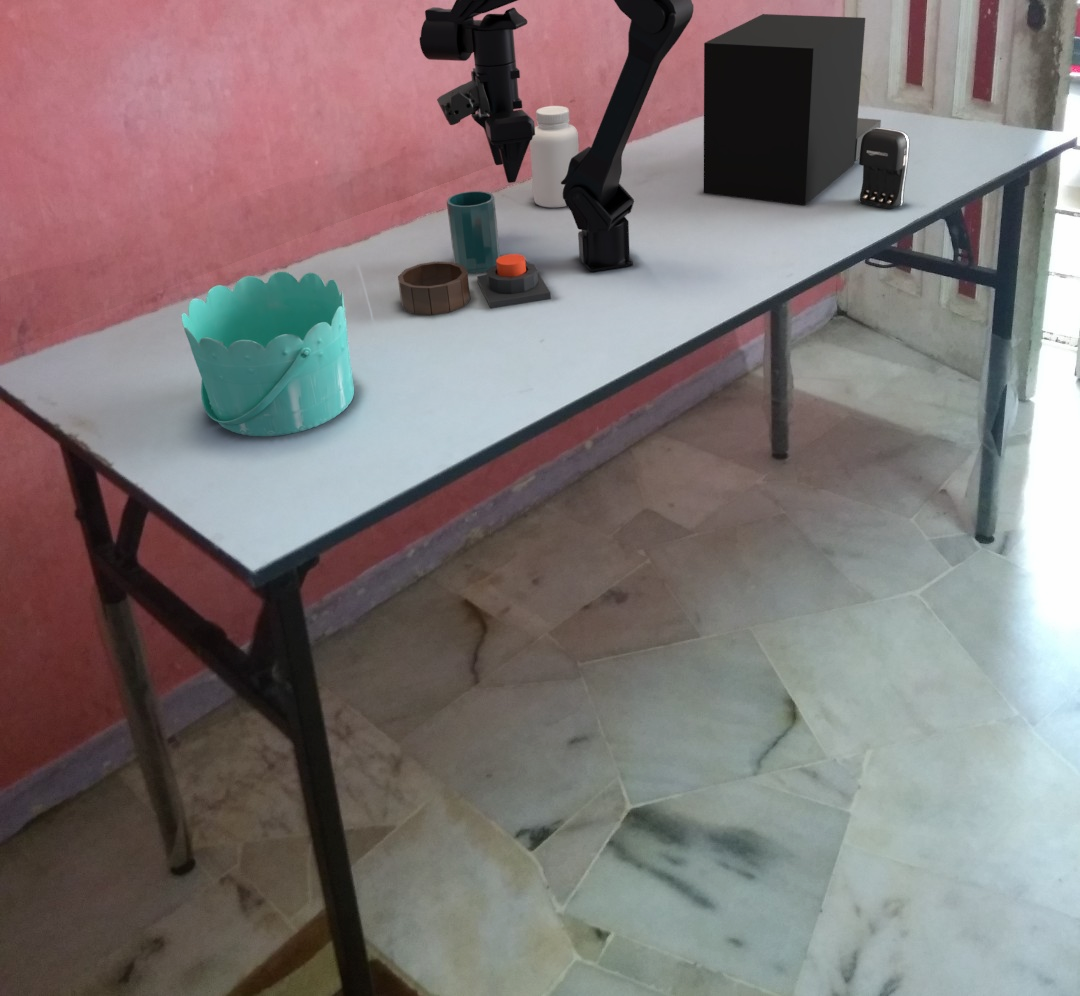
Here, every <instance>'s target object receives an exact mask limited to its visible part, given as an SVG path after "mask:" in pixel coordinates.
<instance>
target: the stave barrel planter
mask: <svg viewBox="0 0 1080 996" xmlns="http://www.w3.org/2000/svg"><path fill="white" fill-rule="evenodd" d="M468 274H469V273H467V271H466V269H465V267H464V266H462V265H459V264H456V263H454V262H453V261H430V262H424V263H419V264H416V265H414V266H410V267H408V268H405V269H403V271H402V272H400V273H399V274H398V275H397V283H398V289H399V295H400V302H401V306H402V310H404V311H406V312H407V313H410V314H412V315H417V316H436V315H443V314H450V313H452V312H456V311H457V310H460V309H462V308H464V307H465V306H466V305H467V304H468V303H469V302H470V300H471V293H470V284H469V275H468Z"/></svg>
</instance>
